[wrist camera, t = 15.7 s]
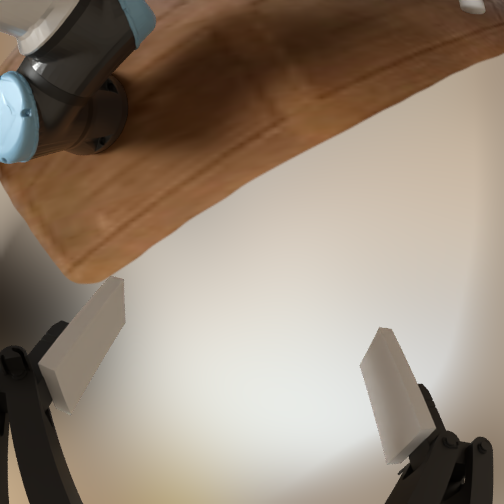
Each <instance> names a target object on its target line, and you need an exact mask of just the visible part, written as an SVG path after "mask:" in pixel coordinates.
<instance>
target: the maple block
mask: <svg viewBox="0 0 504 504" xmlns="http://www.w3.org/2000/svg"><path fill="white" fill-rule="evenodd" d="M459 3H460V8H461V9H462V10H463V11H465V12H467V13H471V14H482V13H485V6H484V2H483V0H459Z"/></svg>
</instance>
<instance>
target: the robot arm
mask: <svg viewBox="0 0 504 504" xmlns="http://www.w3.org/2000/svg"><path fill="white" fill-rule="evenodd" d="M155 24H156V17H155V15H154V13H153V11H152V10H151V9H150V7H149V6H148V5H147V3H146V2H145V1H144V0H0V31H1V32H3V33H6V34H9V35H12V36H14V37H16V38H17V42H18V47H19V52H20V53H21V54H22V55H24V56H26V57H25V58H24V60H23V62H22V63H21V65H20V66H19V68H18V69H17V71H16V72H15V71H9V72H7V73H4V74H3V75H2V76H0V162H3V163H8V164H10V163H16V162H27V161H29V160H31V159H34V158H37V157H41V156H44V155H48V154H52V153H55V152H59V151H63V150H65V151H68V152H70V153H73V154H77V155H90V154H95V153H98V152H101V151H103V150H105V149H107V148H108V147H109V146H111V145H112V144H113V143H114V142H115V141H116V139H117V138H118V137H119V135H120V134H121V132H122V130H123V128H124V125H125V122H126V118H127V112H128V102H127V96H126V93H125V90H124V88H123V86H122V85H121V83H120V82H119V81H118V80H117V79H116V78H115V77H113V76H112V75H111V74H112V73H113V72H114V71H115V70H116V69H117V68H118V67H119V65H120V64H121V63H122V62H123V61H124V60H125V59H126V58H127V57H128V56H129V55H130V54H131V53H132V52H133V51H134V50H136V49H138V47H139V45H140V43H141V42H142V41H143V40H144V39H145V38H146V37H147V36H148V35H149V34H150V33H151V32H152V31H153V29H154V28H155ZM124 324H125V304H124V279H121V278H117V277H113V276H110V277H109V278H108V279H107V280H106V281H105V283H104V284H103V285H102V286H101V287H100V288H99V289H98V290H97V292H96V293H95V294H94V295H93V296H92V297H91V298H90V300H89V301H88V302H87V303H86V304H85V306H84V307H83V308H82V309H81V311H80V312H79V313H78V314H77V315H76V316H75V318H74V319H73V320H72V321H71V322H70V323H67V322H64V321H60V322H58V323H56V324H55V325H53V326H52V327H51V328H50V329H49V330H48V331H47V333H46V335H44V336H43V338H42V339H41V340H40V341H39V342H38V343H37V345H36V346H35V347H34V348H33V350H32V351H31V352H30V353H29V354H28V355H27V353H26V351H25V350H24V349H23V348H22V347H20V346H9V347H6V348H4V349H3V350H2V351H1V352H0V504H9V497H8V463H7V461H8V435H9V422H10V428H11V434H12V439H13V444H14V448H15V453H16V458H17V462H18V465H19V470H20V473H21V477H22V481H23V484H24V488H25V491H26V494H27V497H28V500H29V503H30V504H83V503H82V501H81V498H80V496H79V494H78V492H77V489H76V487H75V485H74V482H73V479H72V477H71V474H70V472H69V469H68V466H67V464H66V461H65V458H64V455H63V452H62V449H61V446H60V443H59V440H58V437H57V433H56V430H55V426H54V423H53V419H52V415H51V411H50V409H49V405H50V404H51V402H52V400H53V403H54V405H55V407H56V409H58V410H60V411H63V412H65V413H68V414H70V415H72V413H73V411H74V409H75V407H76V406H77V404H78V402H79V400H80V398H81V397H82V395H83V393H84V391H85V389H86V388H87V386H88V384H89V382H90V380H91V379H92V377H93V375H94V374H95V372H96V370H97V369H98V367H99V365H100V363H101V362H102V360H103V358H104V357H105V355H106V353H107V352H108V350H109V348H110V347H111V345H112V343H113V342H114V340H115V338H116V337H117V335H118V334H119V332H120V330H121V329H122V327H123V326H124ZM360 368H361V371H362V374H363V378H364V381H365V385H366V388H367V391H368V395H369V398H370V402H371V405H372V409H373V412H374V416H375V420H376V423H377V427H378V431H379V435H380V439H381V442H382V447H383V451H384V455H385V459H386V463H387V465H389V464H398V463H402V462H403V461H404V460H405V459H406V458H407V457H408V456H409V460H410V463H409V464H407V465H406V466H405V467H404V468H403V469H402V470H400V471H399V473H398V475H400V474H401V473H402V472H403V473H402V475H401V477H400V479H399V480H398V482H397V484H396V486H395V487H394V489H393V491H392V492H391V494H390V496H389V497H388V499H387V501H386V503H385V504H492V501H493V449H492V445H491V443H490V442H489V441H488V440H487V439H486V438H484V437H477V438H476V439H474V441H472V442H471V443H466V442H461V441H459V438H458V437H457V436H456V435H455V434H454V433H453V432H450V431H446V429H445V427H444V425H443V422H442V420H441V418H440V415H439V413H438V411H437V409H436V408H435V404H434V401H432V400H433V399H432V397H431V395H430V393H429V391H428V390H427V389H426V387H425V386H424V385H423V384H417V382H416V379H415V377H414V375H413V373H412V371H411V369H410V366H409V364H408V362H407V360H406V358H405V356H404V354H403V352H402V349H401V347H400V345H399V343H398V341H397V339H396V337H395V335H394V333H393V331H392V329H388V328H379V329H378V331H377V333H376V335H375V337H374V339H373V341H372V343H371V345H370V347H369V349H368V351H367V353H366V354H365V356H364V358H363V360H362V362H361V364H360ZM464 478H465V483H464Z"/></svg>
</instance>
